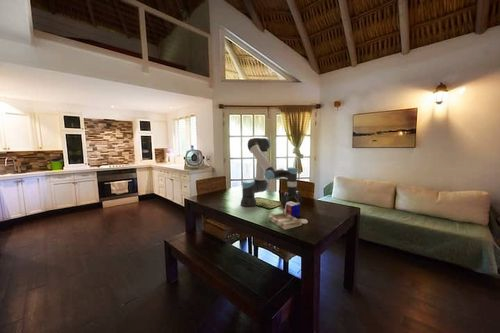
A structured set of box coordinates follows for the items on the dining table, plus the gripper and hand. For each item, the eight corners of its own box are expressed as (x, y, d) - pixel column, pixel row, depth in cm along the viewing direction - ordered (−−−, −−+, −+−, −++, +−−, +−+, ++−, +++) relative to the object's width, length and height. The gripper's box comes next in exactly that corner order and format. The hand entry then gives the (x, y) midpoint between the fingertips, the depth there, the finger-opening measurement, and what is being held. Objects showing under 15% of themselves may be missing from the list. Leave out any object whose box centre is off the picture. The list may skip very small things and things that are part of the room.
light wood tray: (268, 219, 164) (268, 215, 164) (284, 216, 171) (284, 212, 171) (284, 229, 146) (284, 225, 146) (301, 225, 153) (301, 221, 153)
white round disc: (294, 220, 162) (294, 219, 162) (302, 218, 165) (302, 218, 165) (301, 224, 155) (301, 223, 155) (310, 222, 158) (310, 221, 158)
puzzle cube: (291, 218, 167) (291, 206, 165) (282, 214, 175) (282, 203, 173) (299, 215, 173) (300, 204, 171) (290, 212, 181) (291, 201, 179)
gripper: (282, 188, 162) (281, 215, 164) (307, 185, 173) (306, 210, 175) (276, 186, 168) (276, 212, 171) (300, 184, 180) (300, 207, 182)
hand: (291, 211), depth 173 cm, fingers open, 13 cm apart
